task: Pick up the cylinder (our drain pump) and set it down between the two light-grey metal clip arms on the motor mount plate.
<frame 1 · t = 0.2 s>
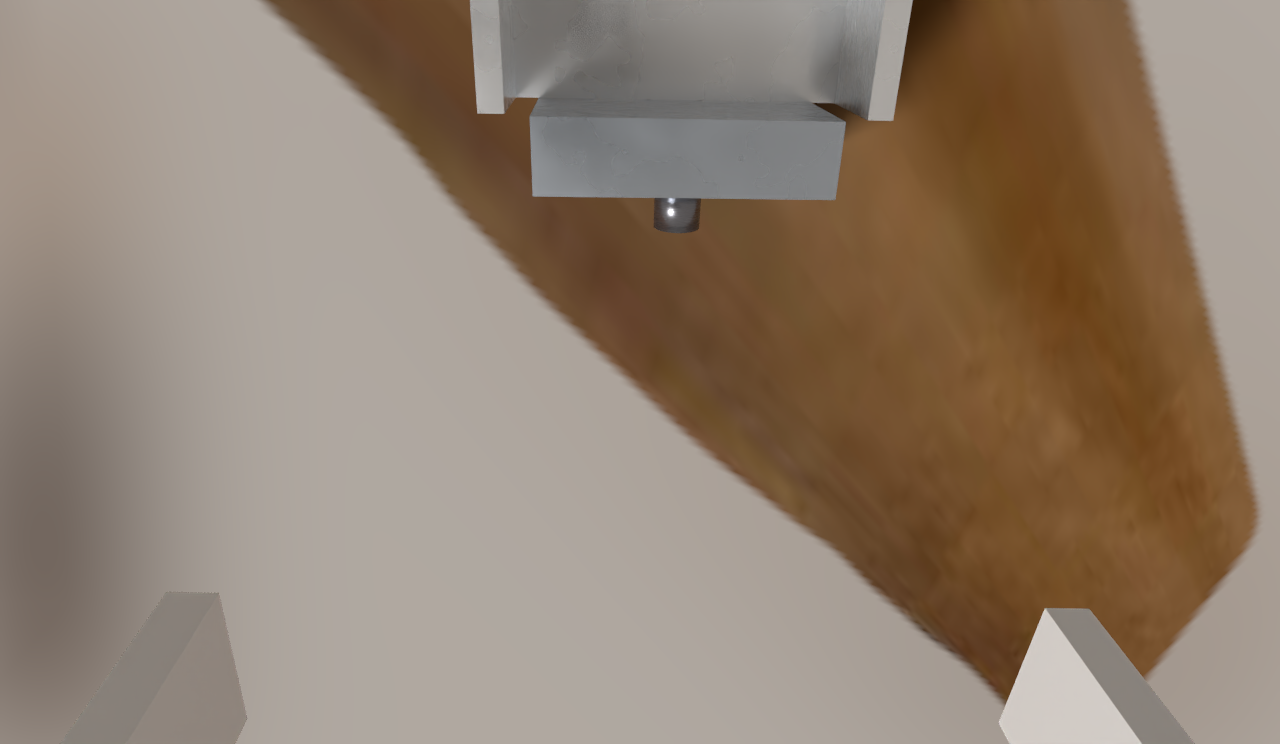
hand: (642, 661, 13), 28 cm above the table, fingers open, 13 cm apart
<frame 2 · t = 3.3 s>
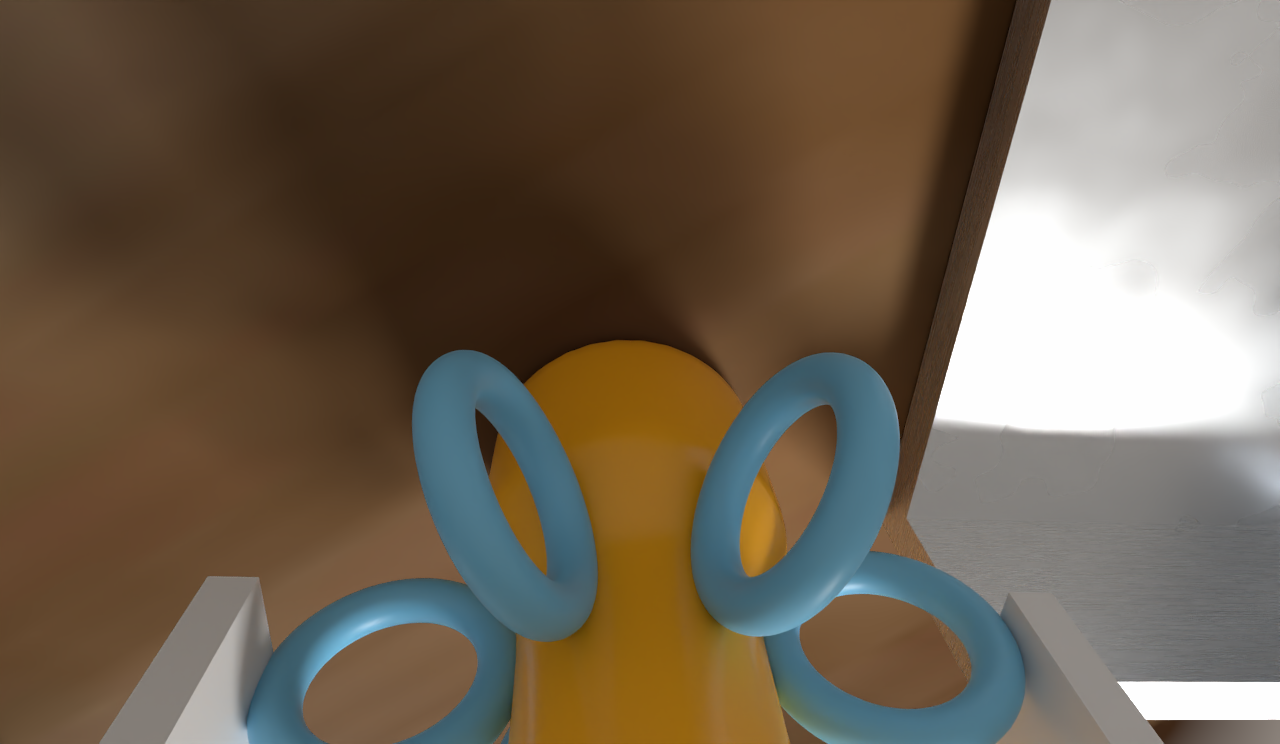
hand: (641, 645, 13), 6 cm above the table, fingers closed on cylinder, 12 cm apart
motor mount: (1225, 229, 17), on the table
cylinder: (622, 442, 19), on the table, touching gripper
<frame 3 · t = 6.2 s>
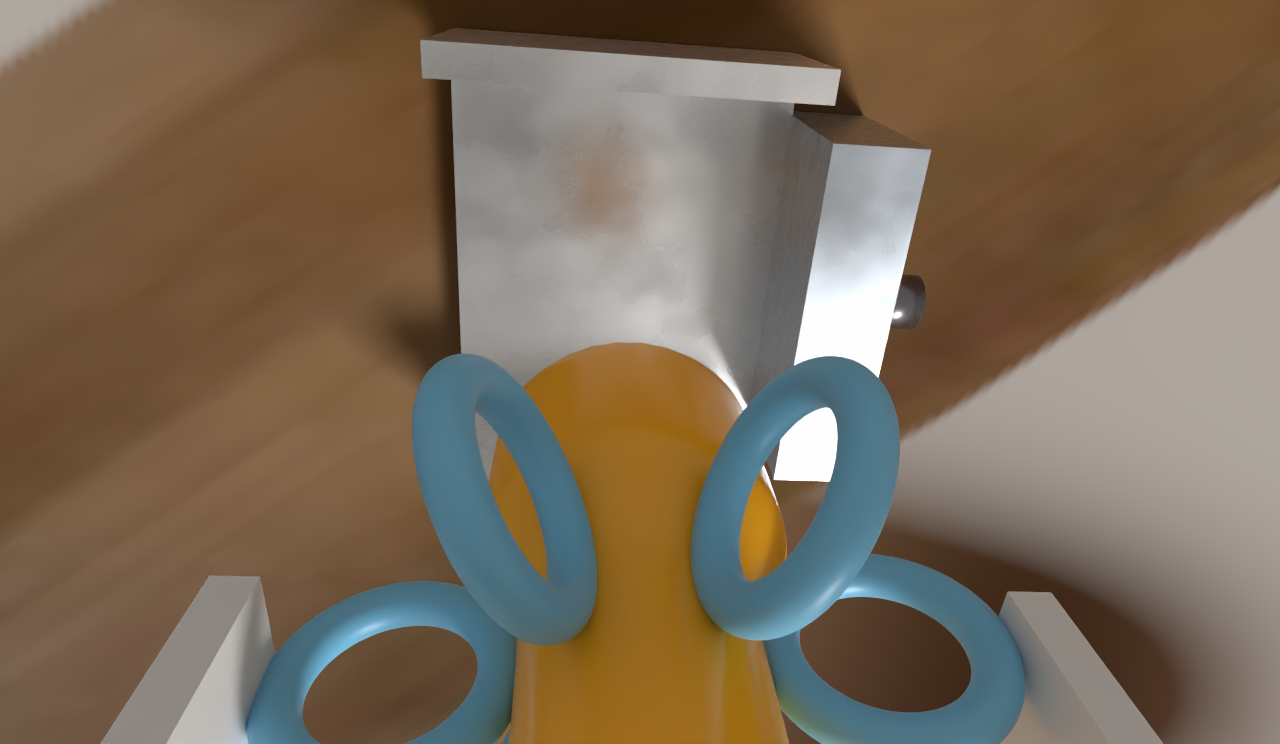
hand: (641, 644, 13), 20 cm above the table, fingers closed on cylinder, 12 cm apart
motor mount: (614, 257, 31), on the table
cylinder: (622, 444, 19), point 14 cm above the table, touching gripper
when the fingers open (9 cm above the table, at t = 8.9 s): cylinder drops 1 cm, resting on motor mount.
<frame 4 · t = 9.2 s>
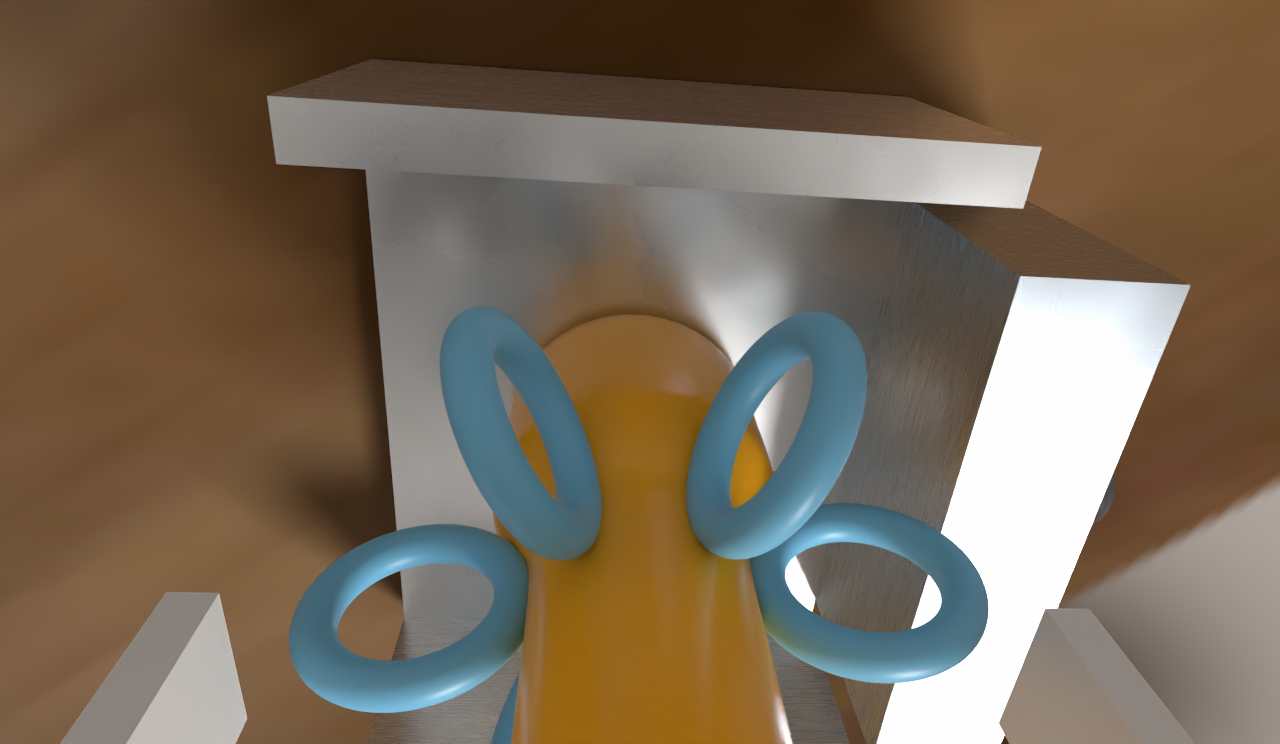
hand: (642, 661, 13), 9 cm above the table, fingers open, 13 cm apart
motor mount: (624, 393, 21), on the table
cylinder: (628, 412, 20), point 1 cm above the table, touching motor mount
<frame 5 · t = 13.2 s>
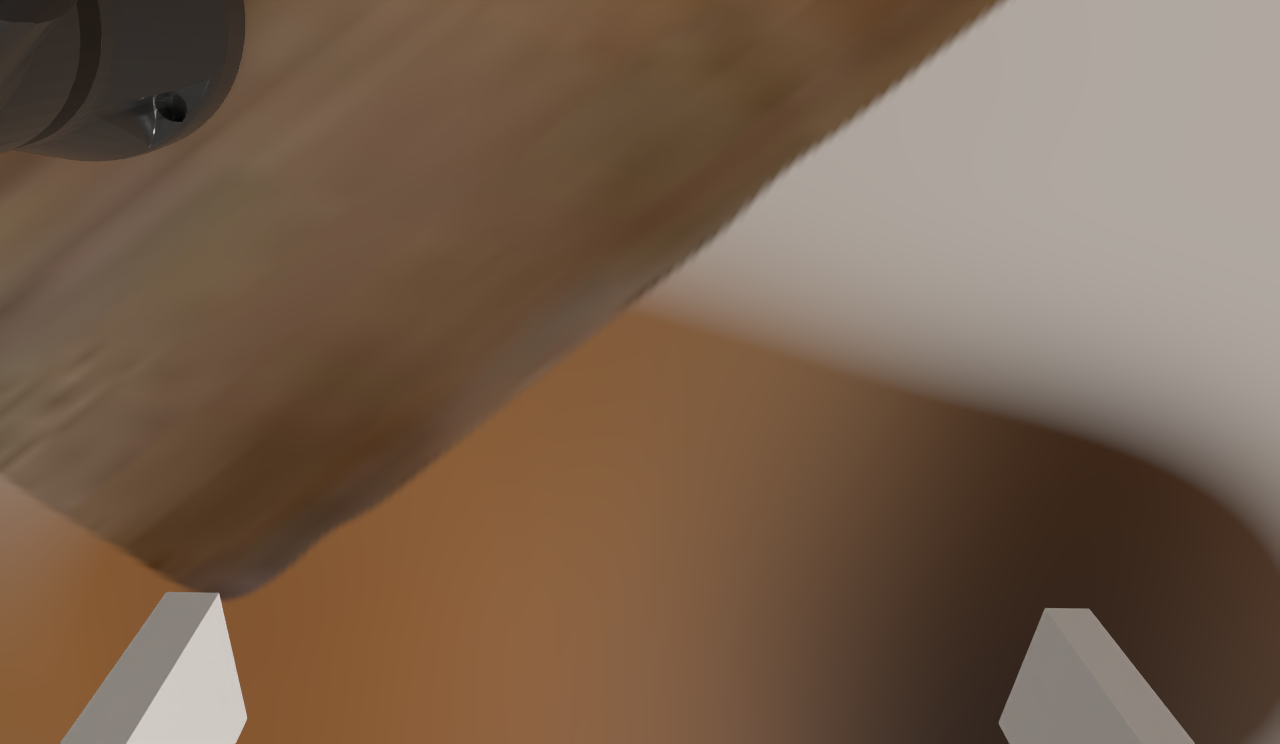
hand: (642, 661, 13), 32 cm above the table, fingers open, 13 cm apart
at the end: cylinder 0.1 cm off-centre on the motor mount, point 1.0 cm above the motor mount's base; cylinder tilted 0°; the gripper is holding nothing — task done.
